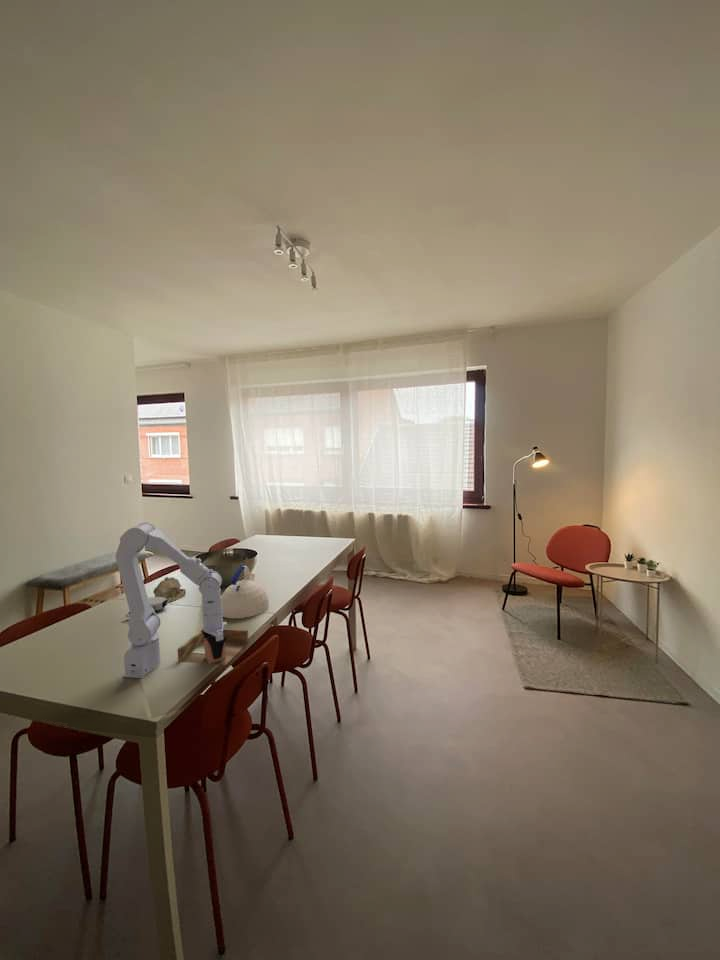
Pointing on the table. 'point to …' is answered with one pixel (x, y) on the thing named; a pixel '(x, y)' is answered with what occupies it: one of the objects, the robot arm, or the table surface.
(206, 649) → the cube
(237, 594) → the kettle
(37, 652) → the table surface
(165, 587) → the ceramic model
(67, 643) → the table surface
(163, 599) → the robot toy
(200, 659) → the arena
